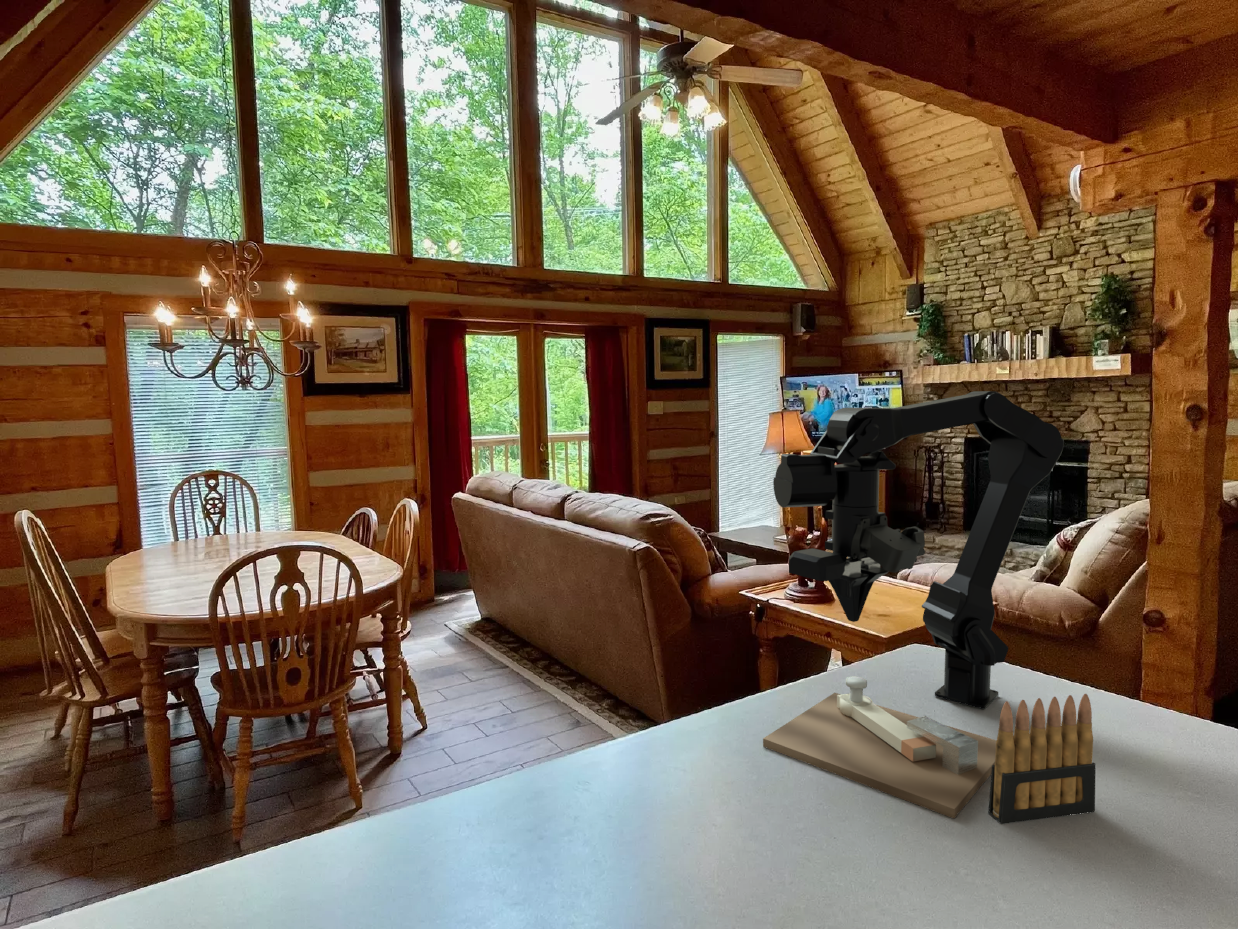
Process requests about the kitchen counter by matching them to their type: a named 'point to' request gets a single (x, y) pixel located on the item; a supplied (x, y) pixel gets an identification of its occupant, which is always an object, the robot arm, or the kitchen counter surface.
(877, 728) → the bar
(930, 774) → the base plate
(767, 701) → the kitchen counter surface
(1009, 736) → the ammunition clip
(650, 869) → the kitchen counter surface
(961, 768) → the block
